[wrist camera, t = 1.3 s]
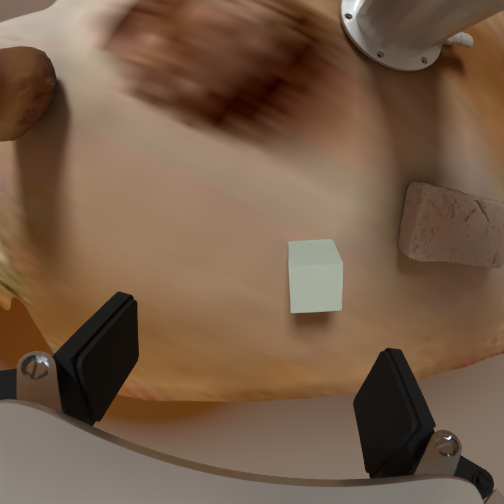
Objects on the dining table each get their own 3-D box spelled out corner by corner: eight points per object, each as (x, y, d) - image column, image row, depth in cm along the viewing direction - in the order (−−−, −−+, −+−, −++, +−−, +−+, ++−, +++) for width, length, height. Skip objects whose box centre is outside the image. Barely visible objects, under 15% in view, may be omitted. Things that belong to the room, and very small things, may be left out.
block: (332, 239, 32) (343, 263, 25) (332, 279, 34) (341, 310, 27) (288, 241, 33) (288, 266, 26) (290, 281, 34) (290, 313, 28)
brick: (501, 200, 27) (521, 209, 23) (488, 258, 30) (506, 272, 26) (404, 177, 29) (421, 183, 24) (392, 246, 32) (406, 261, 27)
